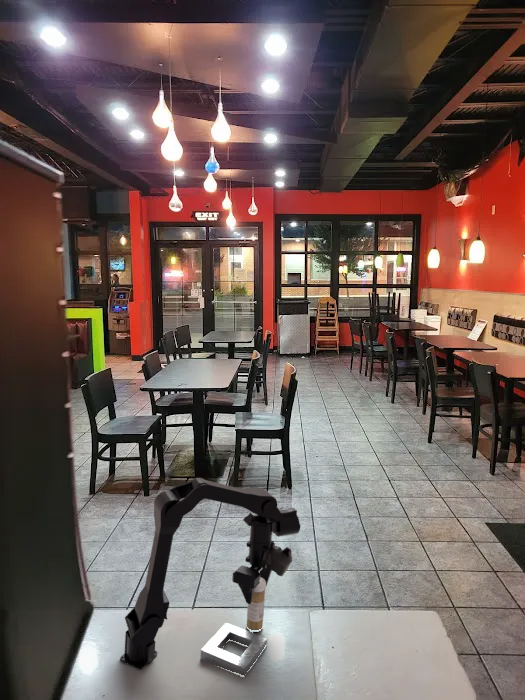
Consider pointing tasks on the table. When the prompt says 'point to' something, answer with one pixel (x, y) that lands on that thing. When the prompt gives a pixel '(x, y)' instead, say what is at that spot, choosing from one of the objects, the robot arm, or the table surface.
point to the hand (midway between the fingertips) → (256, 594)
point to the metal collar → (228, 660)
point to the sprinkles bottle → (257, 607)
